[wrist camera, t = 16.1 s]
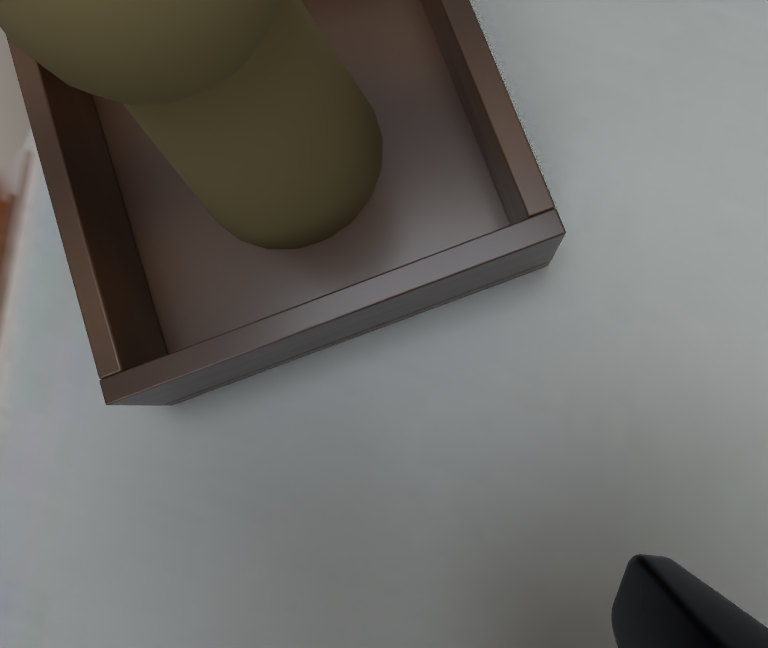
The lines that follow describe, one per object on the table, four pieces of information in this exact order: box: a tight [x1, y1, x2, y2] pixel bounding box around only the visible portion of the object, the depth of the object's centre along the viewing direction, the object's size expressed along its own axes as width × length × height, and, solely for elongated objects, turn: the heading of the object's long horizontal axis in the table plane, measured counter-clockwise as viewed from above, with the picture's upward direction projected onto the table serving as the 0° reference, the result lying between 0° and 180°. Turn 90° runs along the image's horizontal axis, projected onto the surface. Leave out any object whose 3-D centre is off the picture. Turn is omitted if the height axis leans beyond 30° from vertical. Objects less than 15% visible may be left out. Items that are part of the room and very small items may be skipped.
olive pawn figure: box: [0, 0, 383, 249], centre depth 15 cm, size 6×6×11 cm
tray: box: [6, 0, 566, 406], centre depth 19 cm, size 12×12×4 cm
